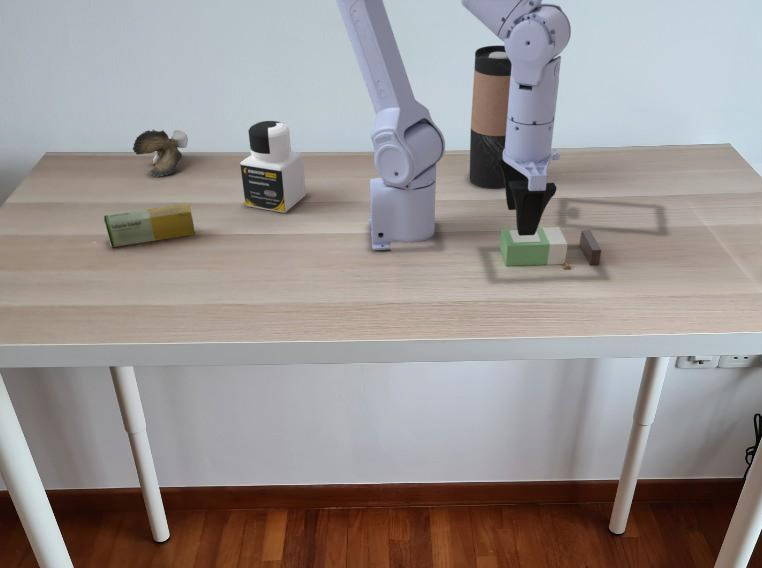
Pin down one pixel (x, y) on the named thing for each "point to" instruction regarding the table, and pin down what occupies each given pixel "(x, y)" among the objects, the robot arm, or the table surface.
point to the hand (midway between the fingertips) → (520, 221)
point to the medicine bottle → (272, 169)
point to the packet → (533, 247)
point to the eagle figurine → (161, 149)
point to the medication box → (149, 225)
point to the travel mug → (489, 115)
